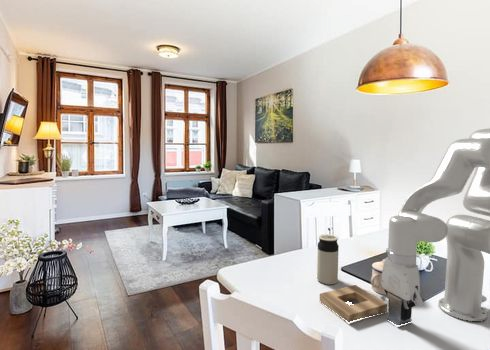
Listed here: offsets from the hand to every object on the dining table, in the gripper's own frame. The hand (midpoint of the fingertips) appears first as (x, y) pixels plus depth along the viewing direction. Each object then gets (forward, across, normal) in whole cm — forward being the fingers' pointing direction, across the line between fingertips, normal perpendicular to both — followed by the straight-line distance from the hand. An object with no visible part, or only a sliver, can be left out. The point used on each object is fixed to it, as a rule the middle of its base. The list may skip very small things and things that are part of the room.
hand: (399, 314), depth 88 cm
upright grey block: (+2, 0, 0) cm, 2 cm away
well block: (+2, -12, -7) cm, 14 cm away
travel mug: (+2, -31, -2) cm, 31 cm away
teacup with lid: (+3, -16, +11) cm, 19 cm away
